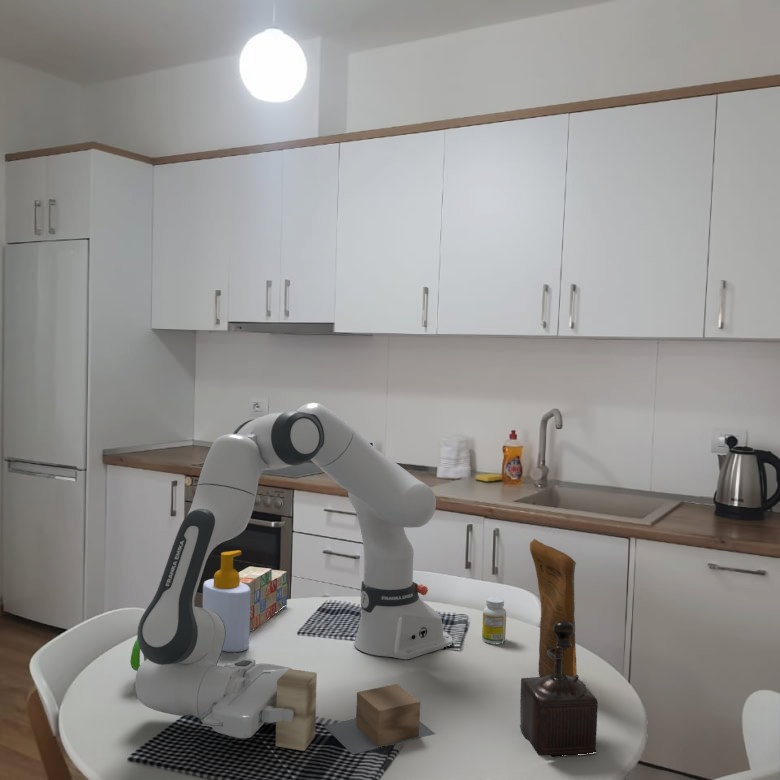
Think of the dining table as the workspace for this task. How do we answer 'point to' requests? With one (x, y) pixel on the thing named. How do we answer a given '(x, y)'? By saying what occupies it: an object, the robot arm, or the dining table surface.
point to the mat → (363, 736)
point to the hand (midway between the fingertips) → (301, 706)
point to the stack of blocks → (264, 592)
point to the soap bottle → (229, 603)
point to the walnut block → (387, 714)
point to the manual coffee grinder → (558, 707)
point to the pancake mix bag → (554, 604)
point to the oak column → (297, 709)
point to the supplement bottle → (494, 621)
